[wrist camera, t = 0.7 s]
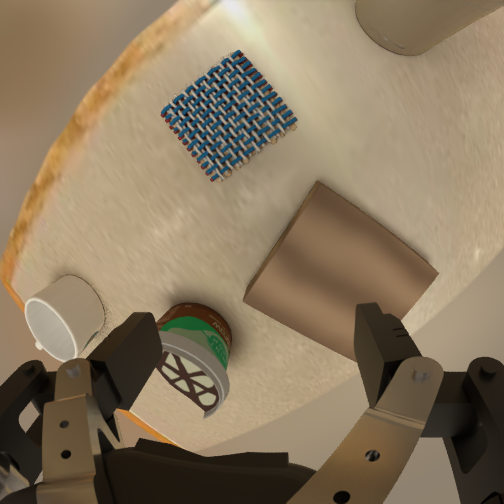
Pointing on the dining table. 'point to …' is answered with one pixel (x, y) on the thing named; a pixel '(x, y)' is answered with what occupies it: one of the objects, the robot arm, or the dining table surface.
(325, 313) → the walnut base
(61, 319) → the mug
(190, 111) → the woven mat
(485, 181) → the dining table surface
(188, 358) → the food container
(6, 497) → the robot arm
